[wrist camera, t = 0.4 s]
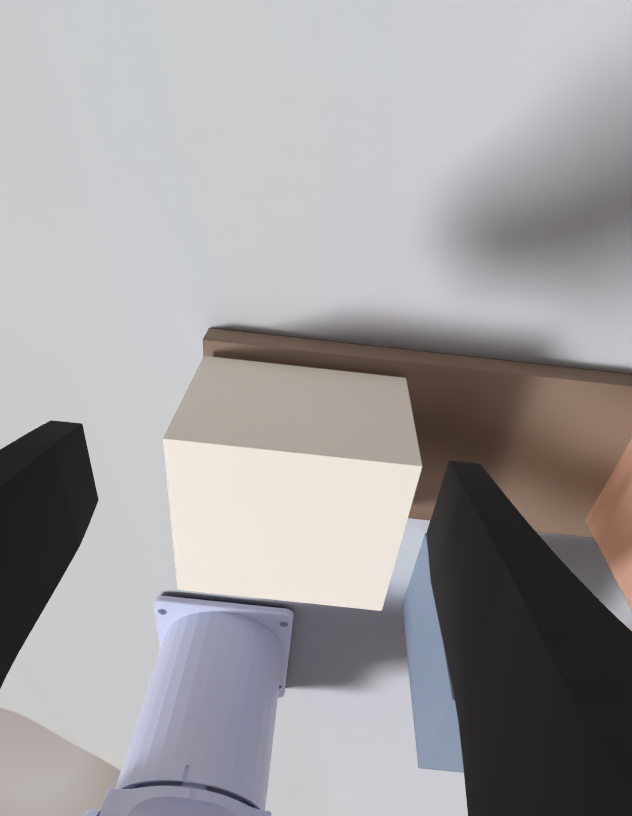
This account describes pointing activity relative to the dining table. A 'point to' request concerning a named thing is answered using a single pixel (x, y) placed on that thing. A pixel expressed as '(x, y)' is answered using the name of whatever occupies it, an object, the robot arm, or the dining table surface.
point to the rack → (499, 430)
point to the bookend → (290, 482)
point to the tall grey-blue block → (430, 675)
